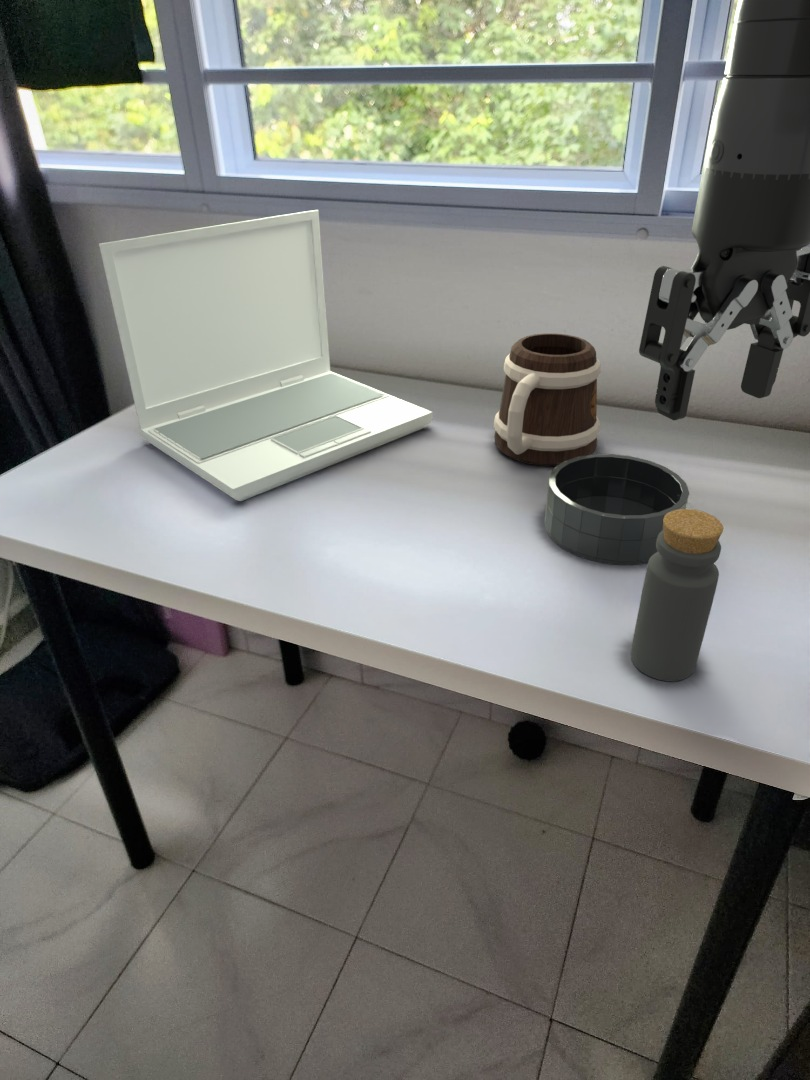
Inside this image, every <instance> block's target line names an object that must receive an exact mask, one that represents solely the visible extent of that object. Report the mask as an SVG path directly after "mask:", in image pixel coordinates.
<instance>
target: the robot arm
mask: <svg viewBox="0 0 810 1080" xmlns="http://www.w3.org/2000/svg"><path fill="white" fill-rule="evenodd" d="M723 74H724V77H723V78H722V81H721V86H720V90H719V94H718V98H717V101H716V104H715V107H714V110H713V113H712V117H711V122H710V126H709V130H708V138H707V143H706V147H705V154H704V159H703V166H702V169H701V176H700V181H699V186H698V191H697V198H696V203H695V207H694V215H693V220H692V224H691V234H692V236H693V238H694V239H695V241H696V243H697V246H698V247H697V248H698V251H697V255H696V257H695V259H694V261H693V264H692V266H691V267H690V268H685V269H677V268H673V267H669V266H666V265H661V266H659V267H658V268H656V270H655V272H654V274H653V279H652V284H651V290H650V295H649V297H648V298H649V299H648V304H647V308H646V312H645V319H644V322H643V323H644V324H643V329H642V334H641V338H640V343H639V348H638V353H639V355H640V356H642V357H643V358H646V359H648V360H651V361H653V362H655V363H658V364H659V367H660V368H659V369H660V370H659V375H658V380H657V386H656V393H655V398H654V405H655V408H656V410H657V412H658V414H660V415H662V416H663V417H666V418H668V419H670V420H672V421H678V420H682V419H684V418H686V416H687V412H688V408H689V403H690V398H691V394H692V390H693V389H692V388H693V383H694V379H695V373H696V369H694V367H695V366H696V365H697V363H698V362H699V360H700V359H701V358H702V356H703V354H705V351H706V350H707V349H708V348H709V347H710V346H711V345H712V346H713V345H717V343H718V342H720V340H721V339H722V338H723V336H724V335H725V333H726V332H727V331H728V330H732V329H736V328H738V327H740V326H742V325H744V324H745V325H749V327H750V329H751V332H752V335H753V338H754V339H755V340H757V342H752V343H750V346H749V350H748V355H747V358H746V363H745V366H744V371H743V375H742V379H741V384H740V389H741V391H742V393H744V394H747V395H748V396H751V397H754V398H756V399H763V398H766V397H769V396H770V395H771V393H772V390H773V386H774V384H775V382H776V379H777V376H778V371H779V368H780V364H781V360H782V357H783V353H784V351H785V349H788V348H789V347H790V346H791V344H792V343H793V340H794V339H795V338H796V337H797V336H799V337H806V336H807V335H809V334H810V247H808V246H809V245H810V0H737V5H736V9H735V14H734V18H733V24H732V30H731V34H730V41H729V46H728V51H727V57H726V63H725V67H724V72H723ZM795 301H796V302H798V303H799V305H800V306H799V311H798V314H797V315H794V314H793V311H792V310H793V307H794V302H795ZM698 314H699V316H700V318H701V320H702V321H703V322H704V323H702V322H699V321H696V320H695V318H696V317H697V315H698ZM662 329H664V336H663V341H662V342H660V337H661V334H662ZM688 338H692V339H691V341H690V342H689V344H688V345H687V347H686V348H685V349H682V348H681V347H682V346H683V345H684V343H685V342H686V340H687V339H688Z"/></svg>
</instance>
